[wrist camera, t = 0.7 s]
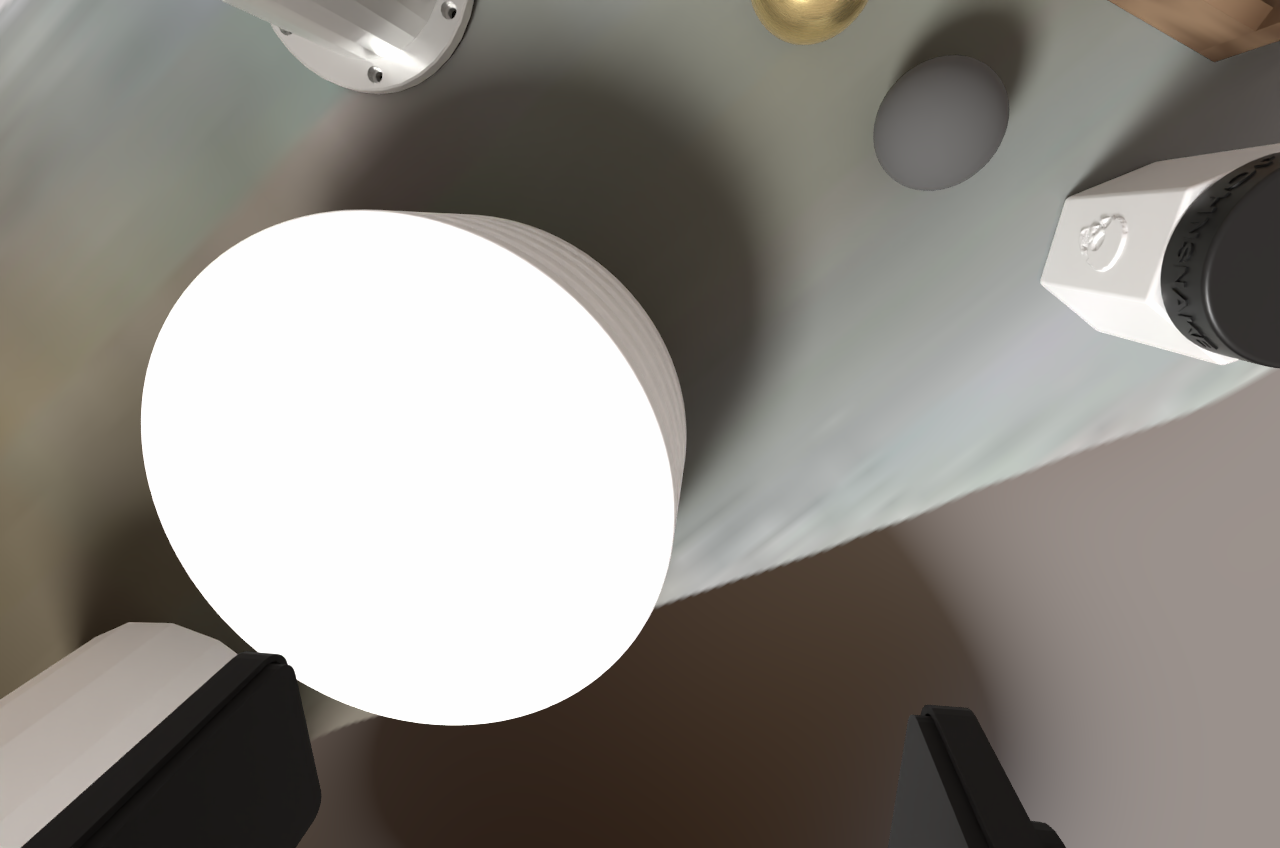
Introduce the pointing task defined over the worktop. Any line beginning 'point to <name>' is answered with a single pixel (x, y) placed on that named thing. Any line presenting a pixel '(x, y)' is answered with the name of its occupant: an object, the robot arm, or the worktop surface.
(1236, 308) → the jar
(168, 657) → the container
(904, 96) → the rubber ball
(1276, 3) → the walnut housing
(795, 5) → the brass ball
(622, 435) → the plate stack
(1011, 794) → the robot arm
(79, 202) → the worktop surface
